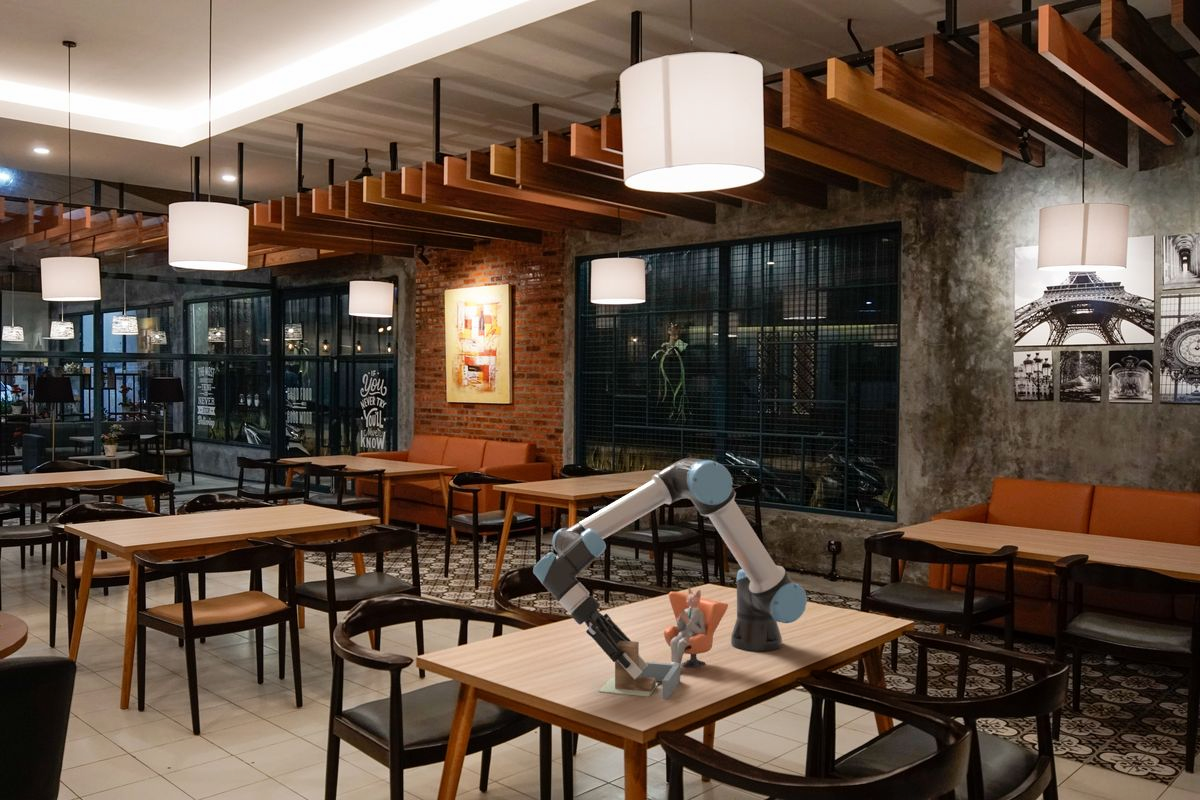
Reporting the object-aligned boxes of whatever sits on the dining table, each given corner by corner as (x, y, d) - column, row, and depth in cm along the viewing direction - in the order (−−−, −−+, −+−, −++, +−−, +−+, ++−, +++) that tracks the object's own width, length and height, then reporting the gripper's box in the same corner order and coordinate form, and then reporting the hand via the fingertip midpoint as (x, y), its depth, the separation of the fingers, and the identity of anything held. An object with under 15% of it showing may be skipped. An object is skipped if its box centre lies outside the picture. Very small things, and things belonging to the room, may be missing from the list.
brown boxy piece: (655, 685, 238) (655, 643, 238) (651, 691, 233) (651, 648, 233) (619, 682, 241) (619, 640, 240) (615, 688, 236) (615, 645, 236)
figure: (635, 664, 258) (635, 588, 258) (681, 652, 270) (681, 579, 270) (691, 682, 241) (691, 601, 241) (738, 669, 253) (738, 592, 253)
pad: (658, 683, 241) (658, 682, 241) (649, 696, 230) (649, 695, 230) (610, 679, 244) (610, 678, 244) (599, 692, 234) (599, 690, 234)
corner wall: (680, 681, 242) (680, 664, 242) (668, 698, 229) (668, 680, 229) (624, 676, 247) (624, 659, 247) (610, 693, 233) (610, 675, 233)
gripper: (581, 605, 251) (640, 671, 246) (559, 622, 233) (622, 692, 228) (599, 587, 249) (659, 652, 244) (579, 602, 231) (643, 673, 227)
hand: (641, 672), depth 236 cm, fingers open, 5 cm apart
